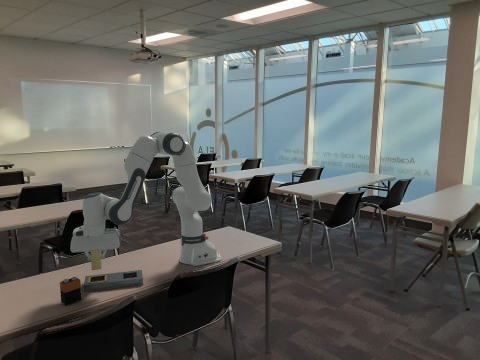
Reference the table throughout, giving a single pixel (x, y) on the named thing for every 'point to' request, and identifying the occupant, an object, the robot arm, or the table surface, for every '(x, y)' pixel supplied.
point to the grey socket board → (113, 280)
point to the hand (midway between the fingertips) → (96, 259)
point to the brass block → (96, 259)
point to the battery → (70, 290)
